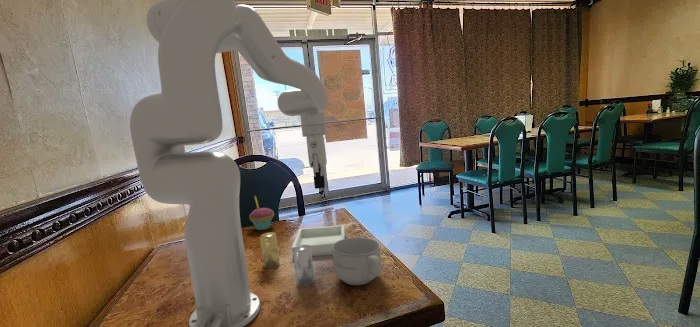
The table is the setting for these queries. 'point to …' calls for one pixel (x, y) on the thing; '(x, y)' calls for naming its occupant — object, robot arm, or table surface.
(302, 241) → the tray
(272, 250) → the brass roller
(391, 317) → the table surface
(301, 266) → the steel roller
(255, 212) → the cupcake
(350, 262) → the teacup
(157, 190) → the robot arm
